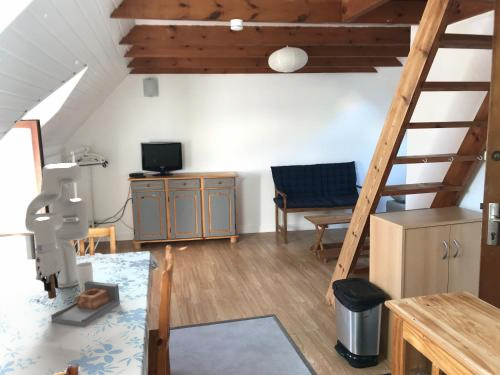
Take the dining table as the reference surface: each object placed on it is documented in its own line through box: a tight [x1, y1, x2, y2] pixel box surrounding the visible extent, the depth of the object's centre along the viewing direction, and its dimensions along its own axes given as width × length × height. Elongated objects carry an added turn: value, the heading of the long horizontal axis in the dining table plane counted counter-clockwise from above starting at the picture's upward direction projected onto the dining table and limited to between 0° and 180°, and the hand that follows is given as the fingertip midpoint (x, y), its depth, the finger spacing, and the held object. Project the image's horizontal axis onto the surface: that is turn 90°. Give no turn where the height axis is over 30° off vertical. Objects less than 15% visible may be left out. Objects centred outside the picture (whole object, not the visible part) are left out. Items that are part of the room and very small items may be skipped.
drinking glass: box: [76, 261, 94, 294], centre depth 190 cm, size 7×7×15 cm
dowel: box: [47, 274, 57, 300], centre depth 172 cm, size 3×3×12 cm
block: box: [76, 288, 109, 309], centre depth 176 cm, size 9×9×5 cm
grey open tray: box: [50, 281, 121, 328], centre depth 172 cm, size 16×22×9 cm
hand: (51, 288), depth 173 cm, fingers closed on dowel, 3 cm apart
